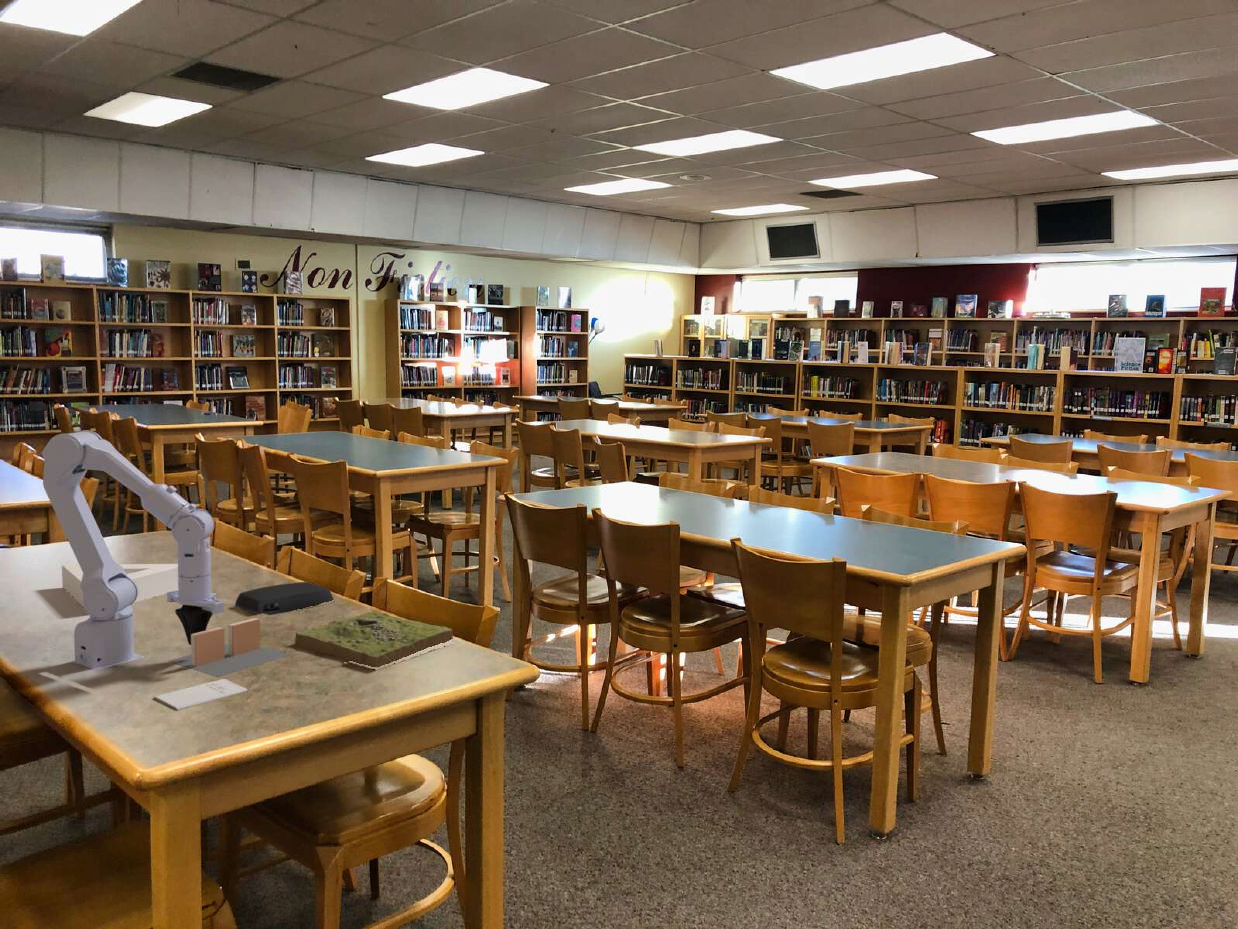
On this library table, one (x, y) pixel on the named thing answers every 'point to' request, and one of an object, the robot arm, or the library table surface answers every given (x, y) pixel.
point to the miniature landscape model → (373, 638)
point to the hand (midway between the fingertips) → (195, 644)
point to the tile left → (207, 646)
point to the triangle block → (146, 577)
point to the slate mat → (233, 661)
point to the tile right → (244, 636)
